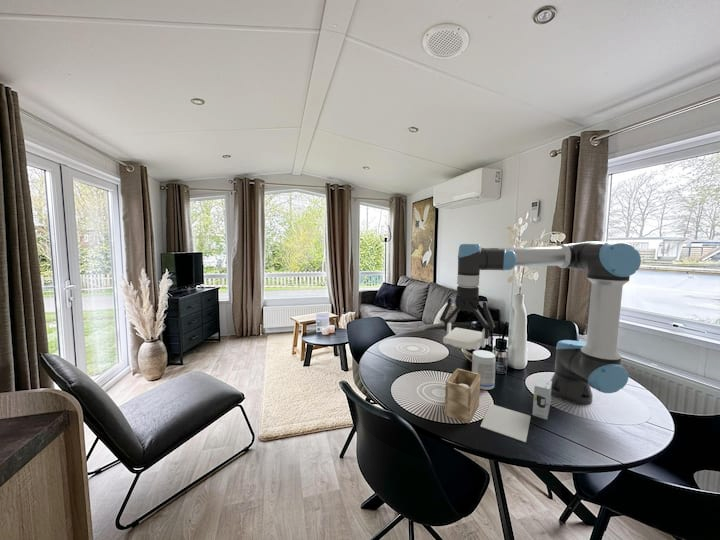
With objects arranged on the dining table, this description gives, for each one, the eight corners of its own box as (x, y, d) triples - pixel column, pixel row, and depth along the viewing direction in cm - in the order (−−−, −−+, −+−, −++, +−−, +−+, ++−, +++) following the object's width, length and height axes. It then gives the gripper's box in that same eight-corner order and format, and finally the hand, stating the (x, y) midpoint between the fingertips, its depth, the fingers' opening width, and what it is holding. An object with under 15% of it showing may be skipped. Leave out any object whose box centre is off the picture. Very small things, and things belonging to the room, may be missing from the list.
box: (478, 405, 115) (480, 374, 114) (469, 423, 104) (471, 389, 102) (455, 398, 120) (457, 368, 119) (444, 415, 109) (445, 381, 107)
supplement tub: (498, 386, 130) (500, 355, 128) (486, 393, 124) (487, 359, 123) (479, 378, 138) (480, 348, 136) (466, 383, 133) (468, 352, 131)
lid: (486, 340, 112) (487, 332, 111) (477, 353, 100) (477, 344, 99) (455, 335, 119) (455, 327, 118) (442, 346, 106) (443, 337, 106)
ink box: (535, 405, 116) (537, 376, 114) (550, 409, 112) (552, 380, 111) (531, 415, 109) (534, 385, 108) (547, 420, 106) (549, 389, 105)
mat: (530, 416, 108) (530, 415, 108) (525, 442, 94) (526, 441, 94) (490, 404, 116) (490, 403, 116) (480, 426, 102) (480, 425, 102)
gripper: (506, 287, 103) (502, 346, 105) (439, 282, 117) (437, 334, 119) (502, 290, 97) (499, 353, 99) (432, 284, 111) (430, 339, 113)
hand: (465, 343), depth 109 cm, fingers closed on lid, 12 cm apart
